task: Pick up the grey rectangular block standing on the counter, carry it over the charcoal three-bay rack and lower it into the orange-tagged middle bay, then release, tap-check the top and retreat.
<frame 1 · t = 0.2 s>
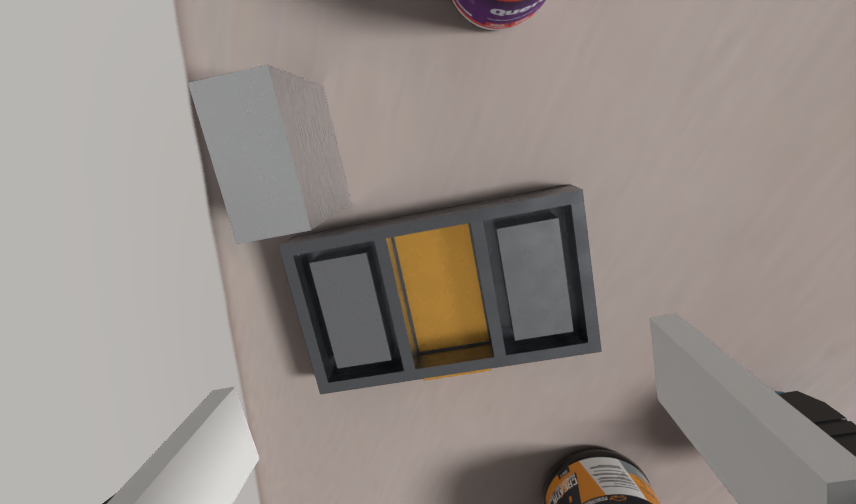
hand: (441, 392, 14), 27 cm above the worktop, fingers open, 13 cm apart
grey rectangular block: (310, 151, 40), on the worktop
rack: (442, 285, 42), on the worktop
supplement container: (592, 486, 47), on the worktop
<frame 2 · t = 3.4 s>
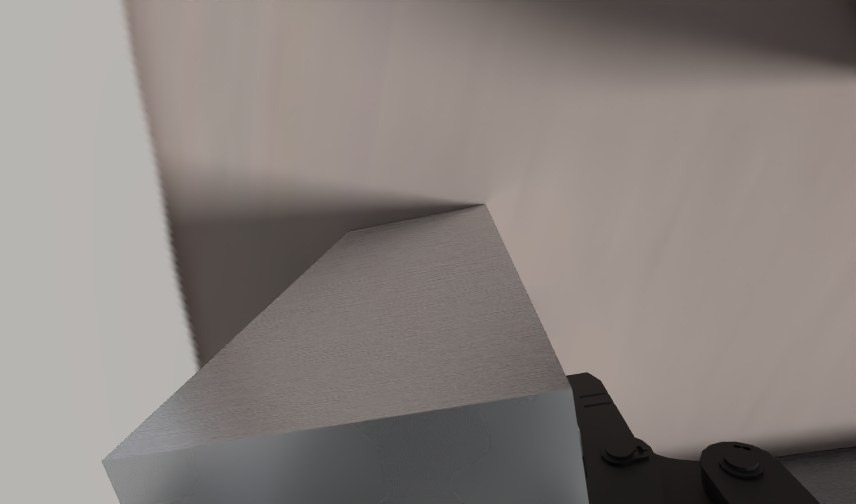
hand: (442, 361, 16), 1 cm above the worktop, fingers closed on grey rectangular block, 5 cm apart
grey rectangular block: (443, 345, 17), on the worktop, touching gripper
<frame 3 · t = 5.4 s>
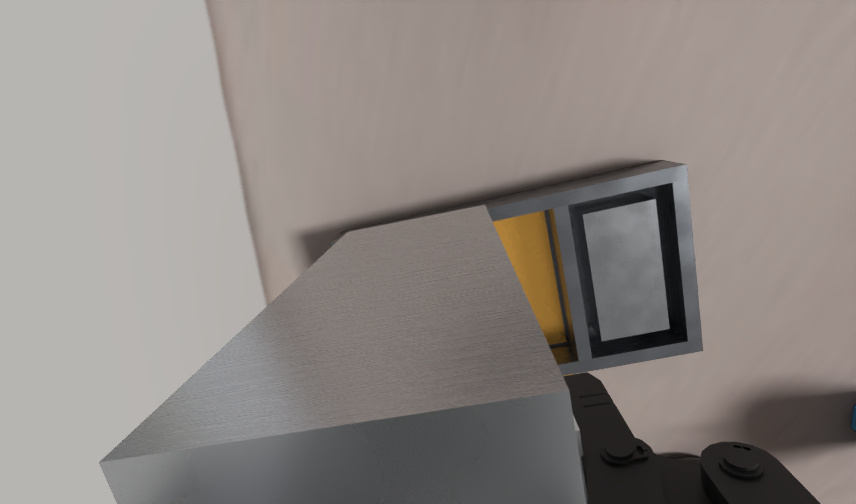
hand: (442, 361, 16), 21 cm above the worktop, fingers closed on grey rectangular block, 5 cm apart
grey rectangular block: (442, 345, 17), point 19 cm above the worktop, touching gripper
rack: (512, 281, 37), on the worktop
when the fingers open (4 cm above the worktop, at t = 7.8 s): grey rectangular block drops 2 cm, resting on rack.
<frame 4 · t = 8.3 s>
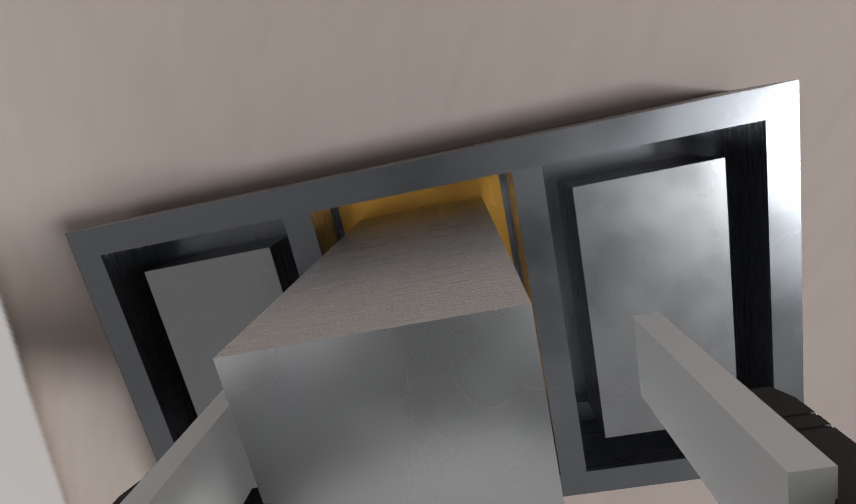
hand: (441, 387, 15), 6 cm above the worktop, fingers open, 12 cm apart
grey rectangular block: (444, 321, 20), point 1 cm above the worktop, touching rack
rack: (444, 314, 20), on the worktop
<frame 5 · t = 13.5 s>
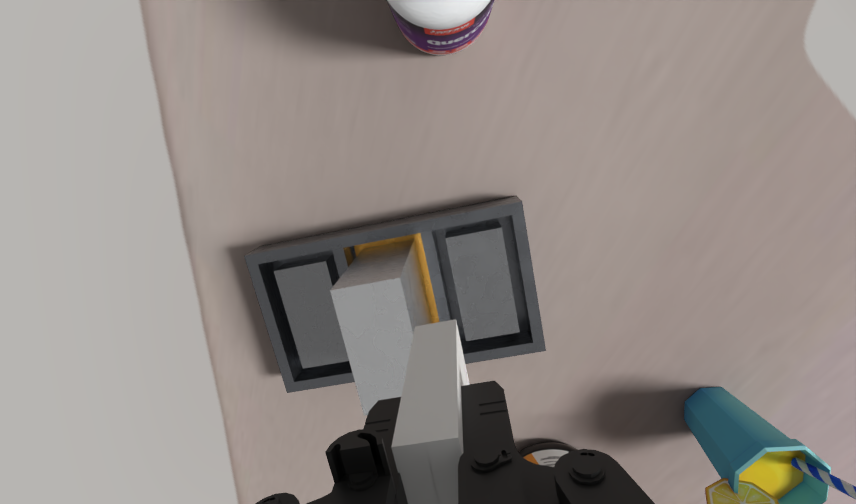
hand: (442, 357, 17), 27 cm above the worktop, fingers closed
grey rectangular block: (399, 293, 44), point 1 cm above the worktop, touching rack
rack: (400, 290, 45), on the worktop
supplement container: (547, 477, 50), on the worktop
pill bottle: (442, 6, 39), on the worktop
cup: (717, 404, 47), on the worktop
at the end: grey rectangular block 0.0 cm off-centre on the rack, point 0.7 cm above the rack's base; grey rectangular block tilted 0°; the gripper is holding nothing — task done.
